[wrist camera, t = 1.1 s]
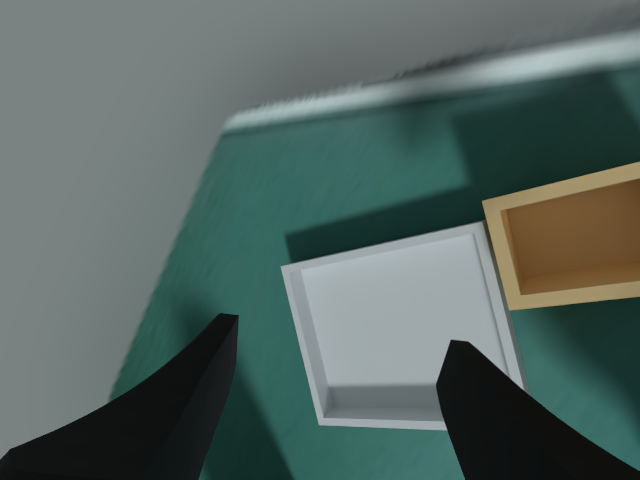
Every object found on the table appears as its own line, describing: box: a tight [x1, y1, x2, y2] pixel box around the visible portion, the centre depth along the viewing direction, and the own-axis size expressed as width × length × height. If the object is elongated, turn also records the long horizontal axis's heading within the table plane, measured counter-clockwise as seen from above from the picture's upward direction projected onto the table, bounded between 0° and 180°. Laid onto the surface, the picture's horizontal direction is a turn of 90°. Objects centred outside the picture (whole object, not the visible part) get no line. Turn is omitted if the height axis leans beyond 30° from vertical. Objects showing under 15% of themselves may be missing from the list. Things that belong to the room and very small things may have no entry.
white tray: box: [281, 220, 531, 430], centre depth 23 cm, size 13×11×2 cm
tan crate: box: [482, 162, 640, 311], centre depth 17 cm, size 7×5×4 cm
